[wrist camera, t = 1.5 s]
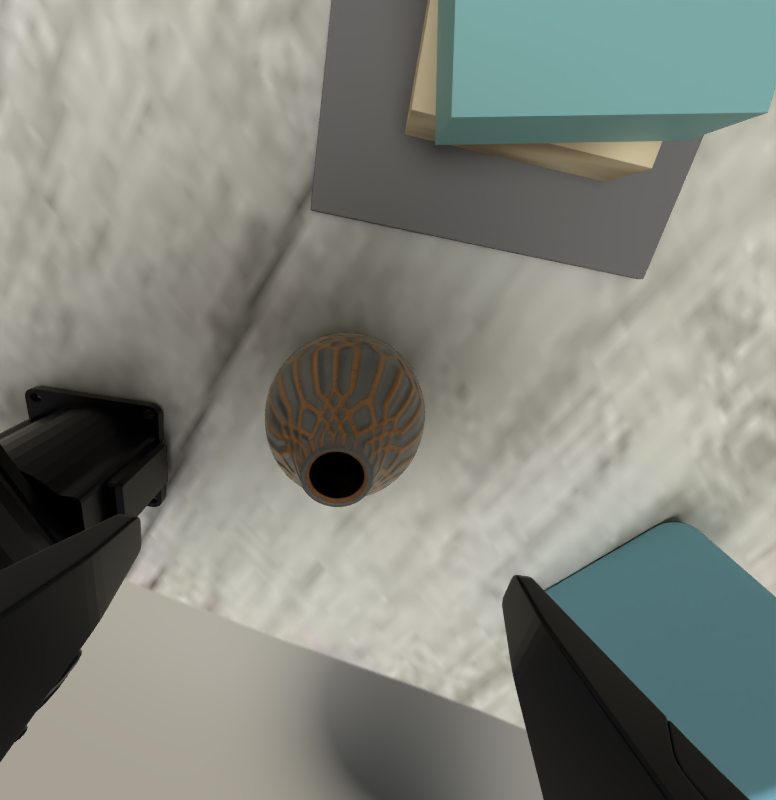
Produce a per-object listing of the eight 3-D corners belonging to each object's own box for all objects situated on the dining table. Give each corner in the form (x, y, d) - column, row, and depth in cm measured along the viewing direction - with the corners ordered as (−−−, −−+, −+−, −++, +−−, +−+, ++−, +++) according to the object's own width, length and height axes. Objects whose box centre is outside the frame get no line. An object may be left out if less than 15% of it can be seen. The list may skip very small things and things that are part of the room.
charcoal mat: (312, 210, 17) (310, 209, 16) (373, -383, 11) (373, -411, 11) (636, 278, 19) (643, 279, 18) (837, -207, 13) (855, -225, 12)
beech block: (404, 134, 16) (411, 109, 13) (460, -188, 12) (485, -316, 9) (604, 181, 16) (651, 168, 14) (706, -106, 13) (795, -202, 10)
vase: (365, 292, 18) (359, 328, 10) (439, 399, 21) (481, 496, 13) (259, 370, 20) (178, 457, 12) (339, 462, 22) (319, 588, 14)
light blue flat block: (554, 634, 28) (671, 885, 17) (521, 602, 27) (626, 853, 16) (704, 551, 26) (959, 784, 14) (677, 511, 24) (935, 734, 13)
